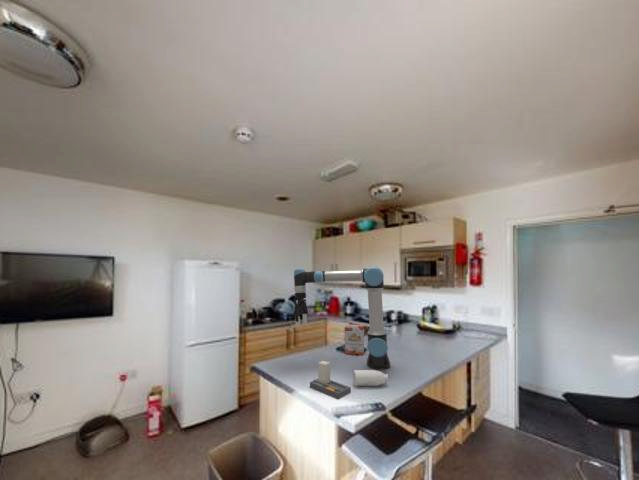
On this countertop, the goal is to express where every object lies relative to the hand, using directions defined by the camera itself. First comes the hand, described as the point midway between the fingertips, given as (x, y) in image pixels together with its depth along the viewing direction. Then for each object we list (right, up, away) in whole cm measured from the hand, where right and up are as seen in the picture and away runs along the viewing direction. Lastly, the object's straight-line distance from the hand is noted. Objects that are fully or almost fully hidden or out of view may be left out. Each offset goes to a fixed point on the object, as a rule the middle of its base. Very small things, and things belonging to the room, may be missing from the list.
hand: (301, 325), depth 180 cm
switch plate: (+17, -23, -35) cm, 45 cm away
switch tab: (+14, -21, -32) cm, 41 cm away
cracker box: (+38, -30, +27) cm, 55 cm away
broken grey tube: (+39, -24, -29) cm, 54 cm away
